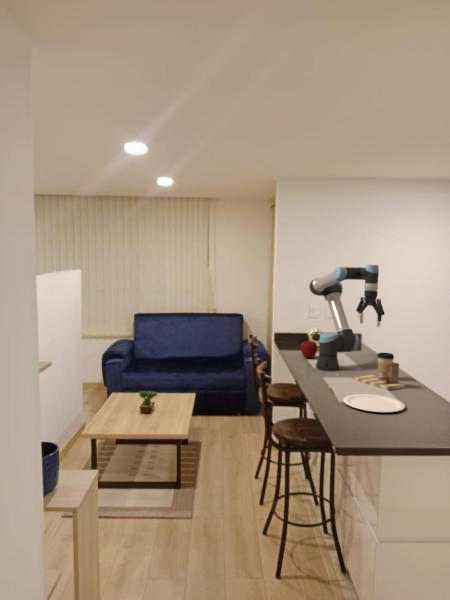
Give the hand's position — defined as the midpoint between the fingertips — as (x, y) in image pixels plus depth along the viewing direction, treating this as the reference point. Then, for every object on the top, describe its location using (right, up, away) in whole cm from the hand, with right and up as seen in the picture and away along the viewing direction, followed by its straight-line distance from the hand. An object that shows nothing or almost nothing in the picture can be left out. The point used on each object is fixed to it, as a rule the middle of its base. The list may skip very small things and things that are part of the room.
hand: (369, 324), depth 292 cm
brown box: (+4, -32, -20) cm, 38 cm away
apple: (-28, -27, +52) cm, 65 cm away
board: (+1, -33, -15) cm, 36 cm away
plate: (-15, -37, -56) cm, 69 cm away
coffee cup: (+8, -32, -2) cm, 34 cm away
